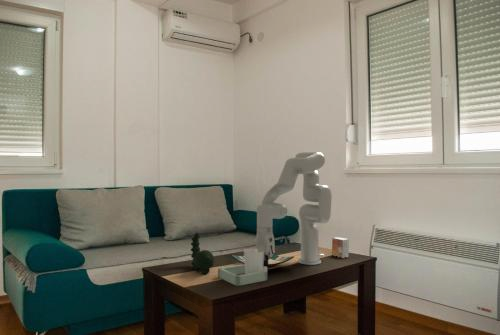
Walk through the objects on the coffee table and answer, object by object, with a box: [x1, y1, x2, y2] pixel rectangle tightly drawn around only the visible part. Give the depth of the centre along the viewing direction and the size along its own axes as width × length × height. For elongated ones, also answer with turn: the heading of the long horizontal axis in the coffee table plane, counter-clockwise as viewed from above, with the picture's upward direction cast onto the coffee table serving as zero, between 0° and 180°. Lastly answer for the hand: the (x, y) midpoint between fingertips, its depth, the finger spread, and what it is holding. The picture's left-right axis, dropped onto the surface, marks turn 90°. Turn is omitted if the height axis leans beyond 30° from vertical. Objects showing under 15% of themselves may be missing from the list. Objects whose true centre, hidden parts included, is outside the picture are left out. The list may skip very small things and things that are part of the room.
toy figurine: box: [190, 232, 215, 275], centre depth 194 cm, size 9×19×25 cm
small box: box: [331, 236, 350, 259], centre depth 226 cm, size 8×6×10 cm
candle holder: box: [243, 248, 264, 274], centre depth 184 cm, size 10×10×12 cm
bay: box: [217, 262, 268, 287], centre depth 180 cm, size 16×17×6 cm
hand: (264, 267), depth 187 cm, fingers closed
